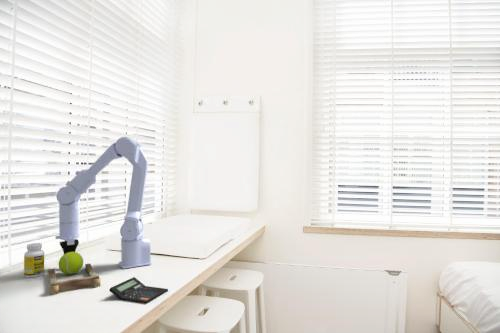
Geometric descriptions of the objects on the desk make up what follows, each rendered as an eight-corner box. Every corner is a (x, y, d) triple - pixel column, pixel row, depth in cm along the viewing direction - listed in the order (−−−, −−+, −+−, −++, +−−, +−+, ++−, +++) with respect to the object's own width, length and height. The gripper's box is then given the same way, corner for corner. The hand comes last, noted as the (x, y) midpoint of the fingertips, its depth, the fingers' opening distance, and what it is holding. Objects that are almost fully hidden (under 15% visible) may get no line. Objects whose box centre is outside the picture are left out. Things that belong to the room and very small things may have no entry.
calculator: (146, 305, 86) (146, 292, 86) (109, 299, 90) (109, 287, 90) (168, 292, 94) (167, 281, 94) (133, 287, 98) (133, 276, 98)
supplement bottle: (34, 278, 106) (34, 246, 106) (19, 277, 107) (19, 246, 107) (48, 273, 111) (48, 242, 111) (34, 272, 112) (33, 242, 112)
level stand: (90, 267, 117) (90, 260, 117) (100, 286, 98) (100, 277, 98) (48, 274, 110) (48, 266, 110) (50, 295, 92) (50, 286, 92)
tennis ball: (76, 269, 115) (75, 248, 115) (87, 273, 111) (87, 251, 111) (54, 275, 109) (54, 253, 109) (66, 279, 105) (65, 256, 105)
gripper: (54, 220, 121) (54, 259, 121) (56, 226, 108) (56, 269, 108) (77, 218, 125) (77, 256, 125) (81, 224, 112) (81, 266, 112)
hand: (69, 262), depth 117 cm, fingers closed
